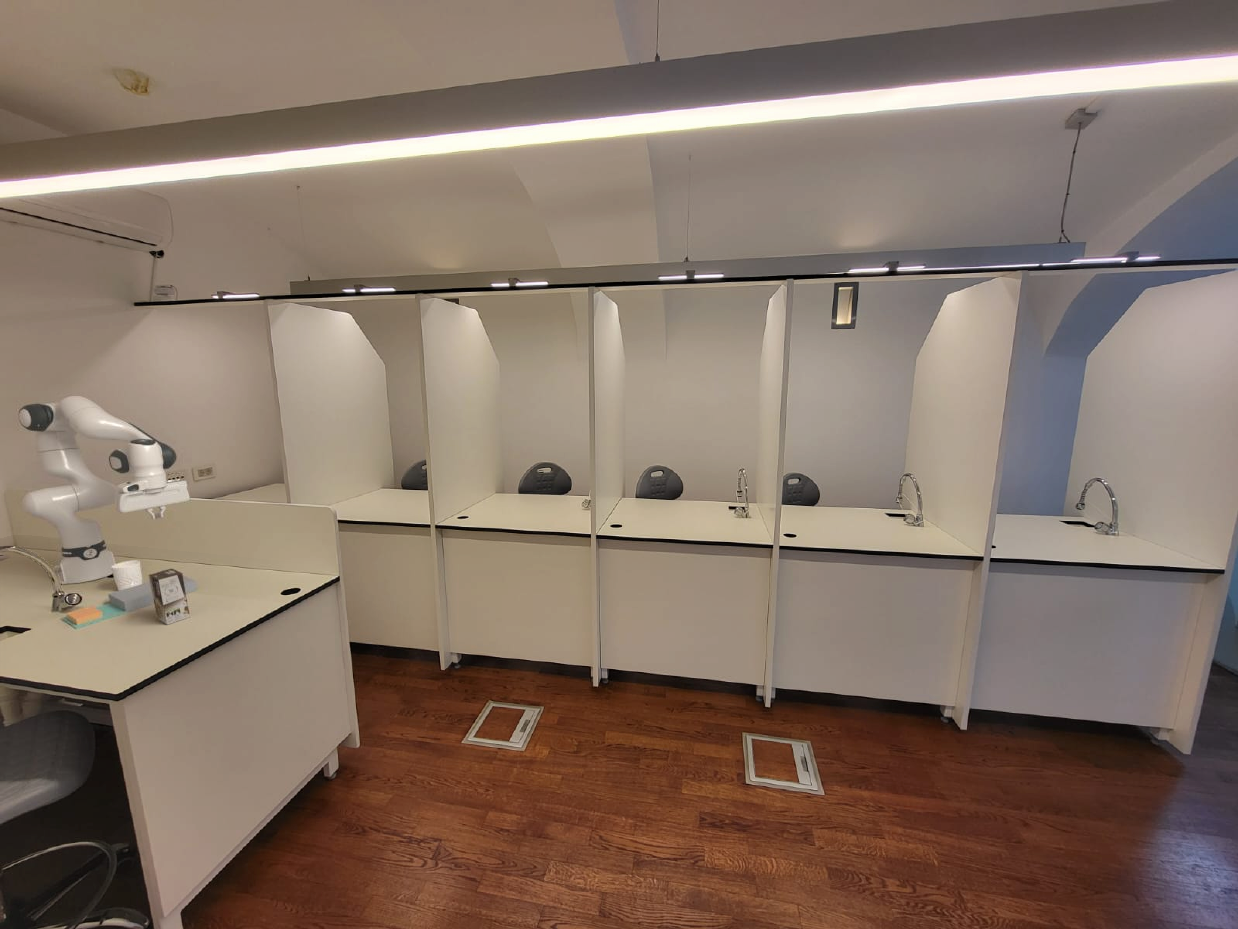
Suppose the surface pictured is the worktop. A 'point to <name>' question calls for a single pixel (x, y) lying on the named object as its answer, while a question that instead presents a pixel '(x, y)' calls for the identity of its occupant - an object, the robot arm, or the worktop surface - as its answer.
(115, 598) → the gray block
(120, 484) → the robot arm
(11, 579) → the worktop surface
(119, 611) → the mat
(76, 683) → the worktop surface
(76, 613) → the orange block
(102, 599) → the worktop surface
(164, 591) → the coffee box
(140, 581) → the white cup
